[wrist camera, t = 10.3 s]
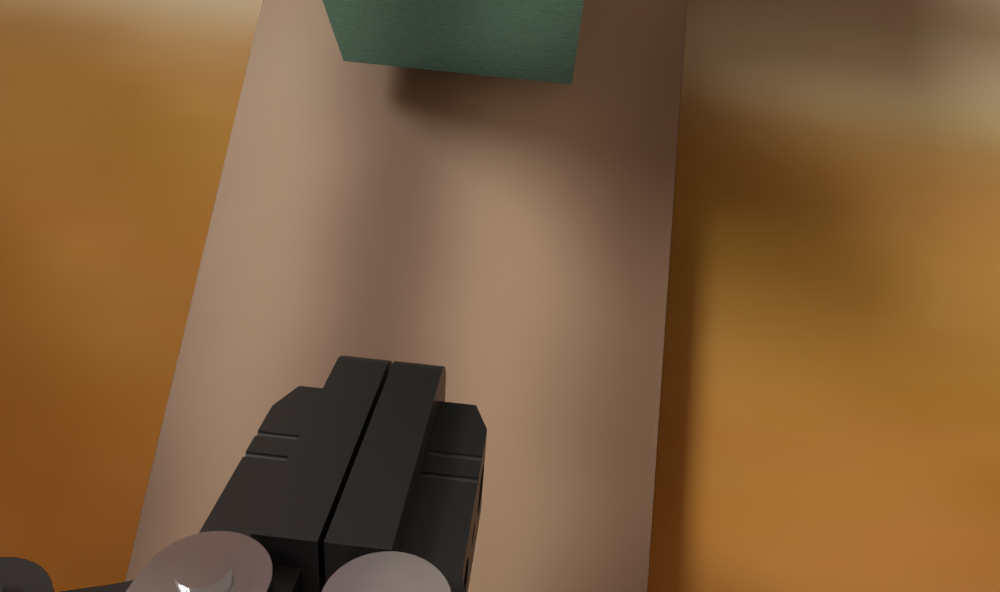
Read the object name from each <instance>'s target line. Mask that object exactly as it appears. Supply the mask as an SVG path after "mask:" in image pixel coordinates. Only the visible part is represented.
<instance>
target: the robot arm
mask: <svg viewBox="0 0 1000 592" xmlns="http://www.w3.org/2000/svg"><path fill="white" fill-rule="evenodd" d="M445 389H446V368H445V366H437V365H428V364H419V363H410V362H401V361H394V362H393V363H392V361H390V360H380V359H371V358H362V357H353V356H344V355H341V356H340V357H339V358H338V359H337V361H336V363H335V365H334V367H333V369H332V371H331V373H330V375H329V377H328V379H327V381H326V383H325V385H324V387H323V388H315V387H306V386H298V387H297V388H295V389H294V390H293V391H291V392H290V393H289V394H287V395H286V396H285V397H283V398H282V399H281V400H279V401H278V402H276V403H275V404H274V405H272V407H271V409H270V410H269V412H268V414H267V416H266V417H265V419H264V421H263V422H262V424H261V426H260V428H259V429H258V434H257V436H254V438H253V440H252V442H251V443H250V445H249V447H248V448H247V450H246V455H245V457H242V459H241V461H240V462H239V464H238V466H237V468H236V469H235V471H234V473H233V474H232V476H231V478H230V480H229V481H228V483H227V485H226V487H225V488H224V490H223V492H222V494H221V495H220V497H219V499H218V500H217V502H216V504H215V506H214V507H213V509H212V511H211V513H210V514H209V516H208V518H207V520H206V521H205V523H204V525H203V526H202V528H201V530H200V532H199V533H198V534H194V535H190V536H188V537H185V538H182V539H180V540H178V541H176V542H174V543H172V544H170V545H168V546H167V547H165V548H164V549H162V550H161V551H159V552H158V553H157V554H156V555H155V556H153V557H152V558H151V559H150V560H149V561H148V563H147V564H146V565H145V566H144V567H143V569H142V570H141V571H140V573H139V574H138V575H137V577H136V578H135V579H134V580H130V581H127V582H122V583H117V584H111V585H104V586H97V587H90V588H83V589H76V590H69V591H62V592H468V588H469V582H470V576H471V569H472V563H473V557H474V551H475V544H476V538H477V532H478V526H479V520H480V514H481V503H482V490H483V476H484V463H485V450H486V437H487V428H486V426H485V424H484V422H483V419H482V417H481V415H480V413H479V410H478V408H477V406H476V405H470V404H461V403H452V402H445ZM0 592H54V589H53V586H52V582H51V579H50V577H49V575H48V573H47V572H46V571H45V570H44V569H43V568H42V567H41V566H39V565H38V564H36V563H34V562H31V561H29V560H26V559H21V558H15V557H0Z"/></svg>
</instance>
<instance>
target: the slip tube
mask: <svg viewBox="0 0 1000 592" xmlns="http://www.w3.org/2000/svg"><path fill="white" fill-rule="evenodd" d="M322 1H323V4H324V6H325V9H326V12H327V15H328V18H329V21H330V24H331V27H332V29H333V32H334V35H335V38H336V41H337V44H338V47H339V50H340V52H341V55H342V58H343V61H348V62H357V63H367V64H377V65H387V66H396V67H406V68H416V69H425V70H435V71H445V72H455V73H464V74H474V75H484V76H493V77H503V78H513V79H523V80H532V81H542V82H552V83H561V84H571V85H572V81H573V74H574V67H575V60H576V53H577V46H578V39H579V32H580V25H581V18H582V11H583V4H584V0H322Z"/></svg>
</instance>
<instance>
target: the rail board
mask: <svg viewBox="0 0 1000 592" xmlns="http://www.w3.org/2000/svg"><path fill="white" fill-rule="evenodd" d="M686 6H687V0H584V4H583V11H582V18H581V25H580V32H579V39H578V46H577V53H576V60H575V67H574V74H573V81H572V85H571V84H561V83H552V82H542V81H532V80H523V79H513V78H503V77H493V76H484V75H474V74H464V73H455V72H445V71H435V70H425V69H416V68H406V67H396V66H387V65H377V64H367V63H357V62H348V61H343V58H342V55H341V52H340V50H339V47H338V44H337V41H336V38H335V35H334V32H333V29H332V27H331V24H330V21H329V18H328V15H327V12H326V9H325V6H324V4H323V1H322V0H263V2H262V7H261V11H260V15H259V19H258V23H257V28H256V32H255V36H254V40H253V44H252V49H251V53H250V57H249V61H248V65H247V70H246V74H245V78H244V82H243V87H242V91H241V95H240V99H239V103H238V108H237V112H236V116H235V120H234V124H233V129H232V133H231V137H230V141H229V145H228V150H227V154H226V158H225V162H224V167H223V171H222V175H221V179H220V183H219V188H218V192H217V196H216V200H215V204H214V209H213V213H212V217H211V221H210V225H209V230H208V234H207V238H206V242H205V247H204V251H203V255H202V259H201V263H200V268H199V272H198V276H197V280H196V284H195V289H194V293H193V297H192V301H191V306H190V310H189V314H188V318H187V322H186V327H185V331H184V335H183V339H182V343H181V348H180V352H179V356H178V360H177V364H176V369H175V373H174V377H173V381H172V386H171V390H170V394H169V398H168V402H167V407H166V411H165V415H164V419H163V423H162V428H161V432H160V436H159V440H158V444H157V449H156V453H155V457H154V461H153V466H152V470H151V474H150V478H149V482H148V487H147V491H146V495H145V499H144V503H143V508H142V512H141V516H140V520H139V525H138V529H137V533H136V537H135V541H134V546H133V550H132V554H131V558H130V562H129V567H128V571H127V575H126V579H125V582H127V581H130V580H134V579H135V578H136V577H137V575H138V574H139V573H140V571H141V570H142V569H143V567H144V566H145V565H146V564H147V563H148V561H149V560H150V559H151V558H152V557H153V556H155V555H156V554H157V553H158V552H159V551H161V550H162V549H164V548H165V547H167V546H168V545H170V544H172V543H174V542H176V541H178V540H180V539H182V538H185V537H188V536H190V535H194V534H198V533H199V532H200V530H201V528H202V526H203V525H204V523H205V521H206V520H207V518H208V516H209V514H210V513H211V511H212V509H213V507H214V506H215V504H216V502H217V500H218V499H219V497H220V495H221V494H222V492H223V490H224V488H225V487H226V485H227V483H228V481H229V480H230V478H231V476H232V474H233V473H234V471H235V469H236V468H237V466H238V464H239V462H240V461H241V459H242V457H245V455H246V450H247V448H248V447H249V445H250V443H251V442H252V440H253V438H254V436H257V434H258V429H259V428H260V426H261V424H262V422H263V421H264V419H265V417H266V416H267V414H268V412H269V410H270V409H271V407H272V405H274V404H275V403H276V402H278V401H279V400H281V399H282V398H283V397H285V396H286V395H287V394H289V393H290V392H291V391H293V390H294V389H295V388H297V387H298V386H306V387H315V388H323V387H324V385H325V383H326V381H327V379H328V377H329V375H330V373H331V371H332V369H333V367H334V365H335V363H336V361H337V359H338V358H339V357H340V356H341V355H344V356H353V357H362V358H371V359H380V360H390V361H392V363H393V362H394V361H401V362H410V363H419V364H428V365H437V366H445V368H446V389H445V402H452V403H461V404H470V405H476V406H477V408H478V410H479V413H480V415H481V417H482V419H483V422H484V424H485V426H486V428H487V437H486V450H485V463H484V476H483V490H482V503H481V514H480V520H479V526H478V532H477V538H476V544H475V551H474V557H473V563H472V569H471V576H470V582H469V588H468V592H647V586H648V571H649V556H650V542H651V527H652V512H653V497H654V482H655V467H656V452H657V437H658V423H659V408H660V393H661V378H662V363H663V348H664V333H665V319H666V304H667V289H668V274H669V259H670V244H671V229H672V215H673V200H674V185H675V170H676V155H677V140H678V125H679V111H680V96H681V81H682V66H683V51H684V36H685V21H686Z"/></svg>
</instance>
